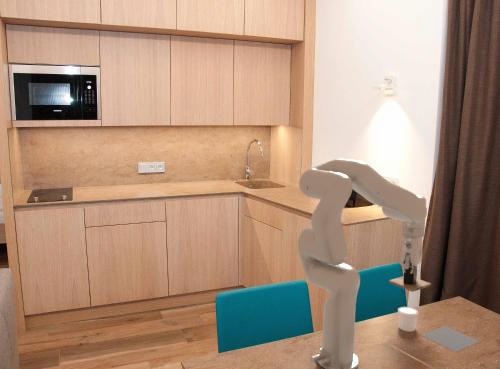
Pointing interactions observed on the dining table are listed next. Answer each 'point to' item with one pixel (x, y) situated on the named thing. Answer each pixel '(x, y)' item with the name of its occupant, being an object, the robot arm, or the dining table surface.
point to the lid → (416, 285)
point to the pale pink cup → (407, 318)
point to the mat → (450, 339)
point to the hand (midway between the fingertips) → (409, 281)
